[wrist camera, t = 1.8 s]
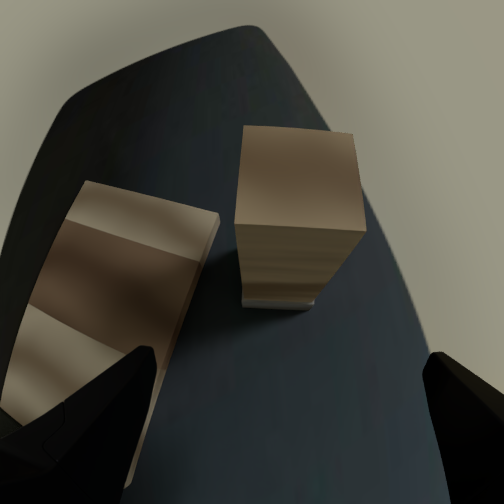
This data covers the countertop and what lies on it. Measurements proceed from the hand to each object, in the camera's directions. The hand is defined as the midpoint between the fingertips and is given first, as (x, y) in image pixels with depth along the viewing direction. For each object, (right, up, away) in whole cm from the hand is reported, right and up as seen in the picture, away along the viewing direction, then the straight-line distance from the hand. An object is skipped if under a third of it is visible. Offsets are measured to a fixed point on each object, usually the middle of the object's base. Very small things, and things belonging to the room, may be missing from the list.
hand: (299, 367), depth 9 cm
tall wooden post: (0, +2, +14) cm, 14 cm away
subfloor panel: (-13, -2, +13) cm, 19 cm away
